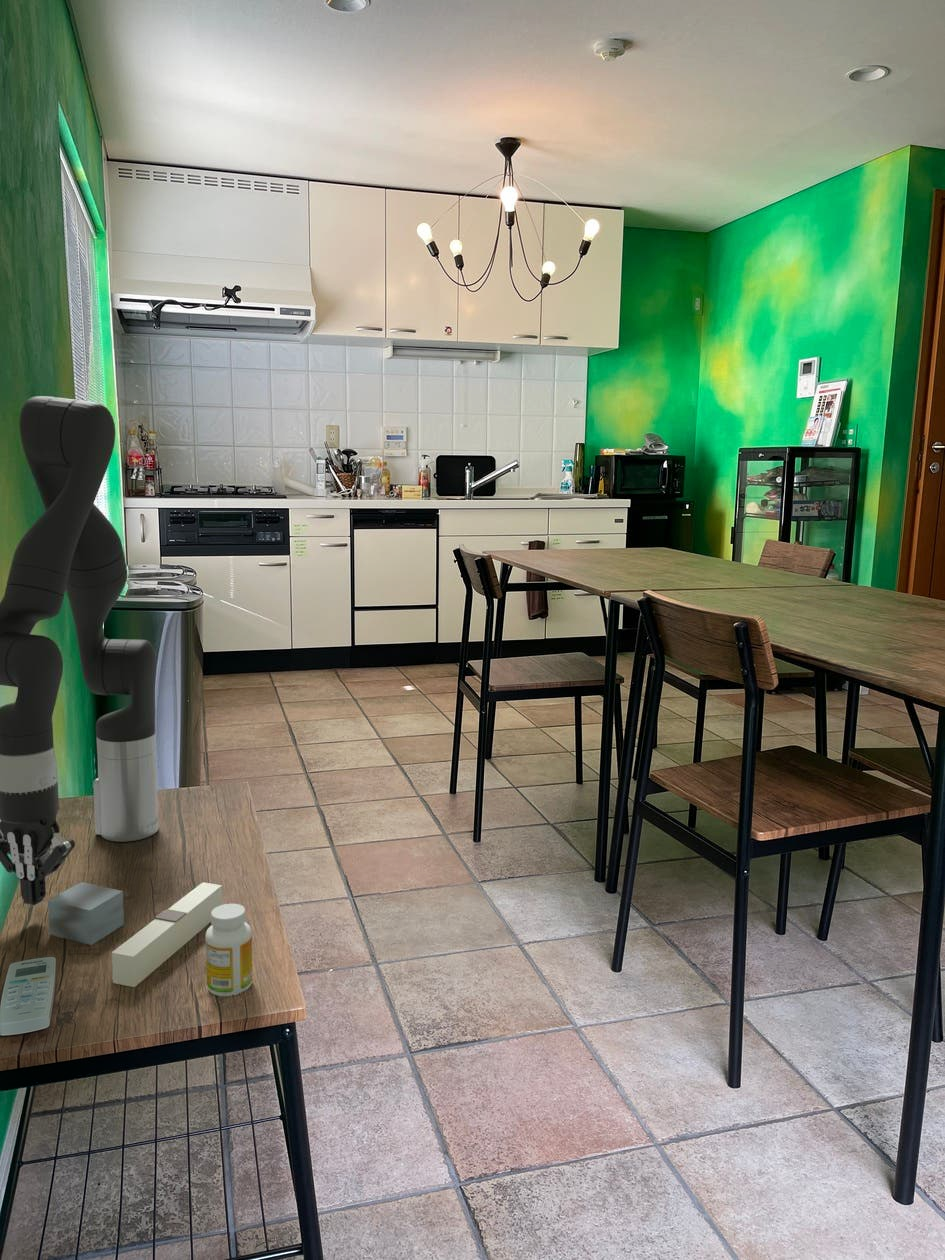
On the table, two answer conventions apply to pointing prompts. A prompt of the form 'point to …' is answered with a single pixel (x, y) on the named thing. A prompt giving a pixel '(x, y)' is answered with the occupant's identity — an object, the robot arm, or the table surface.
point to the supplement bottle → (228, 951)
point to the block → (86, 913)
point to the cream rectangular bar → (164, 935)
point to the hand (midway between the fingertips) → (33, 901)
